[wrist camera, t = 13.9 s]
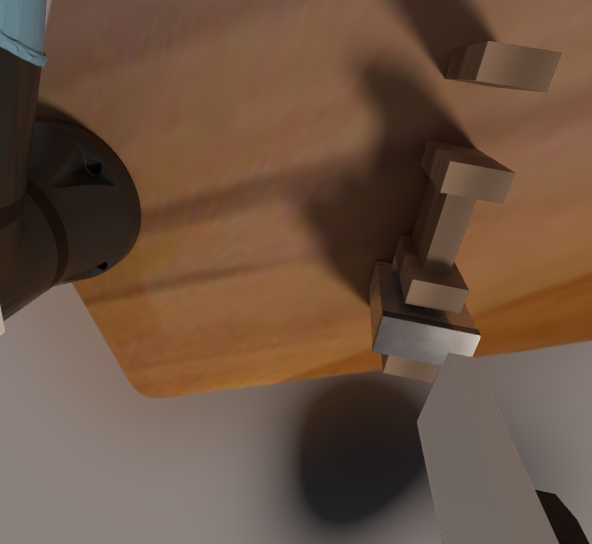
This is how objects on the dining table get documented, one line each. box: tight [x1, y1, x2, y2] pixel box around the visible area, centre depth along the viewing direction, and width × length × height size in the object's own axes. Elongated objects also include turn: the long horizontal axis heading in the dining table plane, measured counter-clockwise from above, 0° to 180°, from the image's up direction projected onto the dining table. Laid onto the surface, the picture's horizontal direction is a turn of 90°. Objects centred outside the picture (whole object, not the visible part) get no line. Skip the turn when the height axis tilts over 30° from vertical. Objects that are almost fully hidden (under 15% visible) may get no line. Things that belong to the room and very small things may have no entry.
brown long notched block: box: [382, 41, 562, 383], centre depth 32 cm, size 4×24×9 cm, turn 171°
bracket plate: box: [369, 261, 481, 366], centre depth 34 cm, size 7×3×10 cm, turn 81°
